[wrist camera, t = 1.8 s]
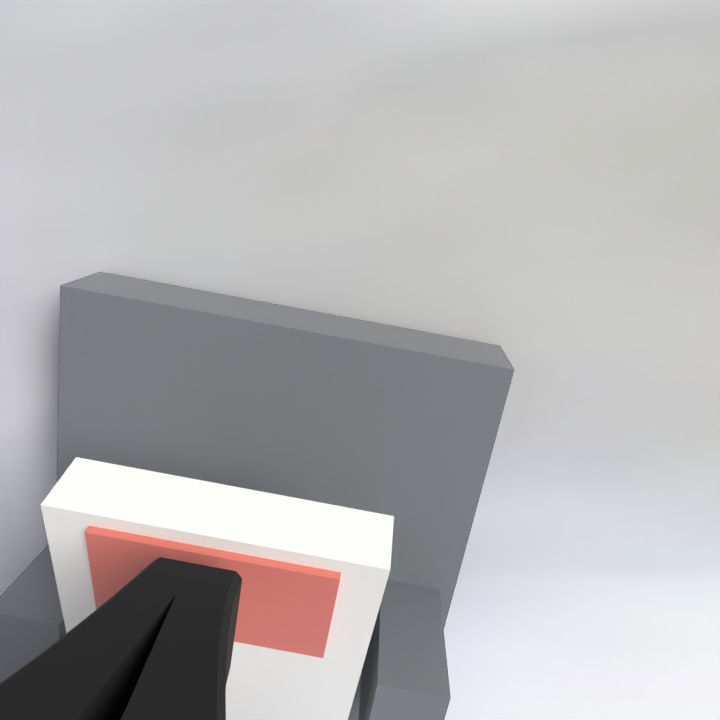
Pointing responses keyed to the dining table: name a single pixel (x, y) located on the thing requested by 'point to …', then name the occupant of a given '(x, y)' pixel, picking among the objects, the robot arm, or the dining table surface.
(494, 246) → the dining table surface
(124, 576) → the block
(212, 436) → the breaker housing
